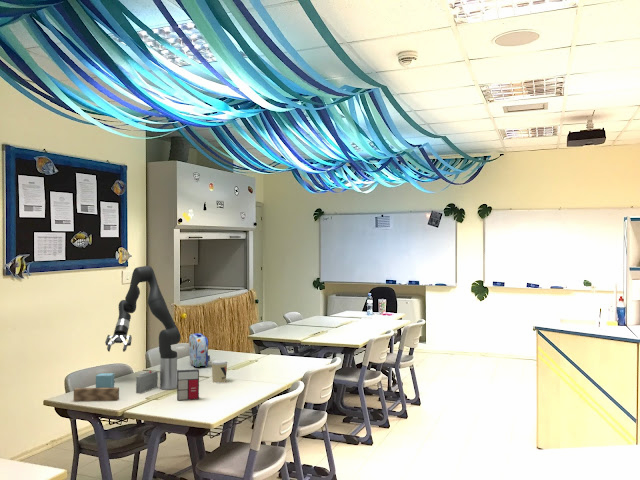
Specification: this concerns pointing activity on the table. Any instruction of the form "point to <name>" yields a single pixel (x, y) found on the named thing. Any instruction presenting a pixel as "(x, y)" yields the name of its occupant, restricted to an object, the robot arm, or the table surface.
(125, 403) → the table surface
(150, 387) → the cassette player
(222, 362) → the coffee cup
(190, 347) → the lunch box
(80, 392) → the wall
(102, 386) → the sliding block
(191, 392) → the gray and red box
